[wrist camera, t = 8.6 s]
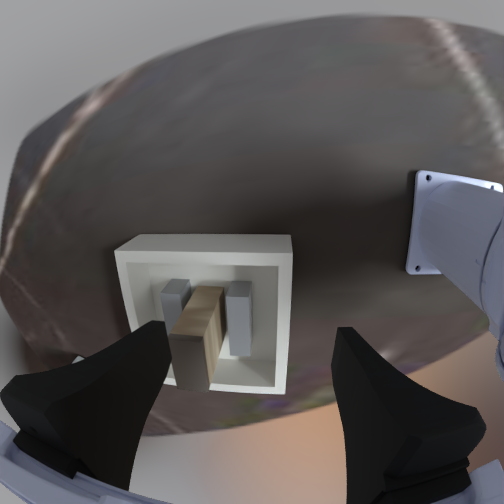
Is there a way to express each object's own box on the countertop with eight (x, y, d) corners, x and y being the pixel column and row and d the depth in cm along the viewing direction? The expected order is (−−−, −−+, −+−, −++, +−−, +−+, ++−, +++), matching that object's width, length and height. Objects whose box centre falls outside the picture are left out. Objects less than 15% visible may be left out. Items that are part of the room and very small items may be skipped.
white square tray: (290, 234, 20) (292, 253, 17) (285, 362, 24) (284, 394, 20) (139, 234, 22) (114, 250, 18) (160, 353, 25) (145, 380, 21)
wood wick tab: (223, 286, 21) (200, 342, 15) (226, 331, 23) (207, 392, 16) (198, 285, 22) (166, 339, 15) (202, 329, 23) (177, 388, 16)
